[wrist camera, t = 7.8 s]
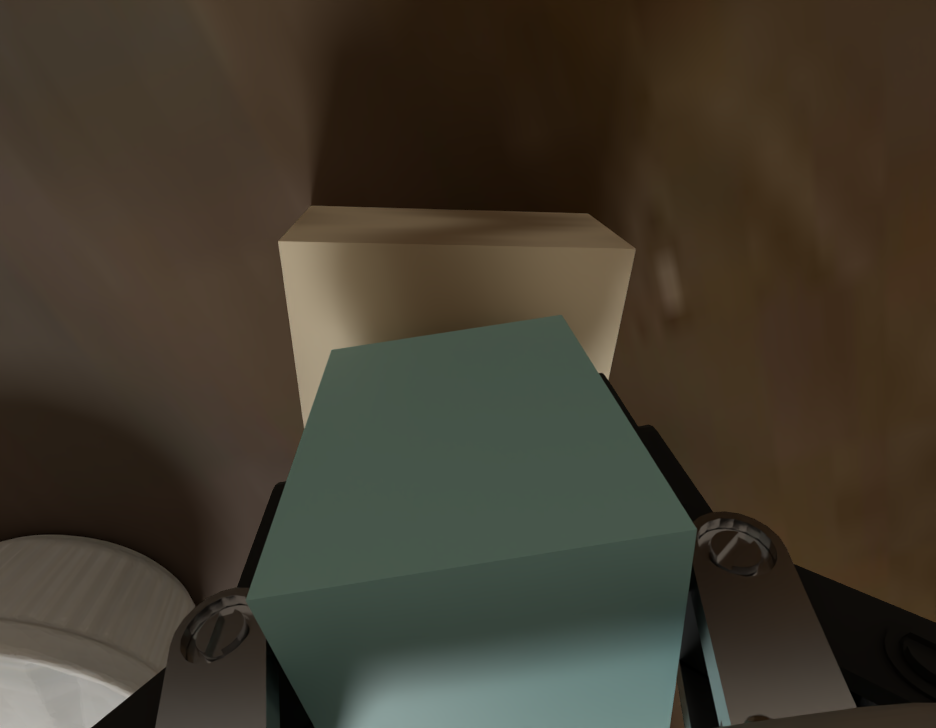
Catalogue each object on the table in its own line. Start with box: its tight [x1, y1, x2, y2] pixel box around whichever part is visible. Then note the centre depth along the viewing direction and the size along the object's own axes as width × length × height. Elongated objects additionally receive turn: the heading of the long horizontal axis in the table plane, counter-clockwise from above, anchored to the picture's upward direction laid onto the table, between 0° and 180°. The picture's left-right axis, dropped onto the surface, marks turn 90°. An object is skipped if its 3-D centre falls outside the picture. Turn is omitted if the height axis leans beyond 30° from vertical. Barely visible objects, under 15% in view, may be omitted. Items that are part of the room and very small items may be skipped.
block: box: [246, 315, 697, 728], centre depth 9 cm, size 5×5×6 cm
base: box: [278, 206, 636, 429], centre depth 15 cm, size 8×8×4 cm
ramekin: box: [0, 535, 195, 728], centre depth 19 cm, size 11×11×5 cm
